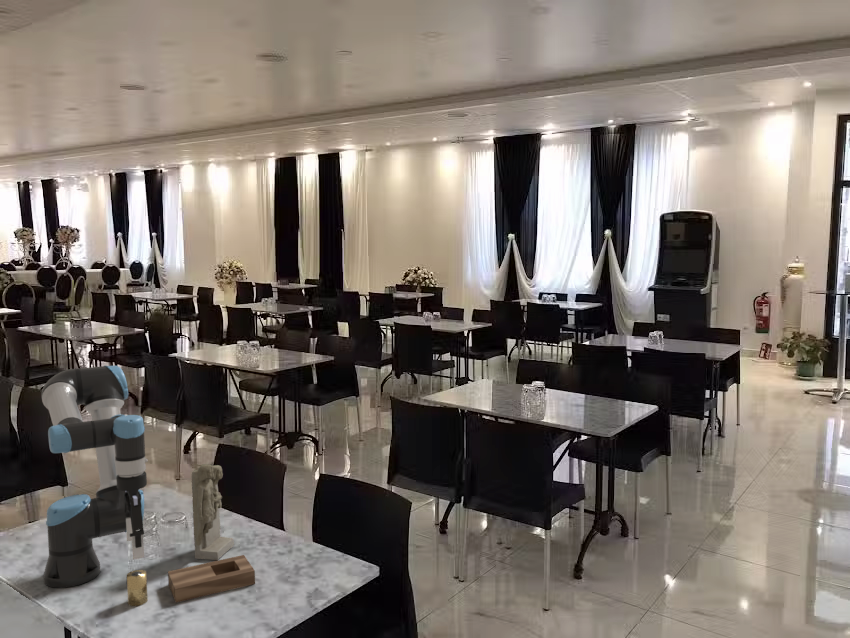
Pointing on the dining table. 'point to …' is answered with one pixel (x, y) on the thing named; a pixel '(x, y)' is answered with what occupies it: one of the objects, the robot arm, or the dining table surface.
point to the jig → (210, 578)
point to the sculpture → (208, 514)
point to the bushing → (137, 588)
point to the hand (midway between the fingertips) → (135, 548)
